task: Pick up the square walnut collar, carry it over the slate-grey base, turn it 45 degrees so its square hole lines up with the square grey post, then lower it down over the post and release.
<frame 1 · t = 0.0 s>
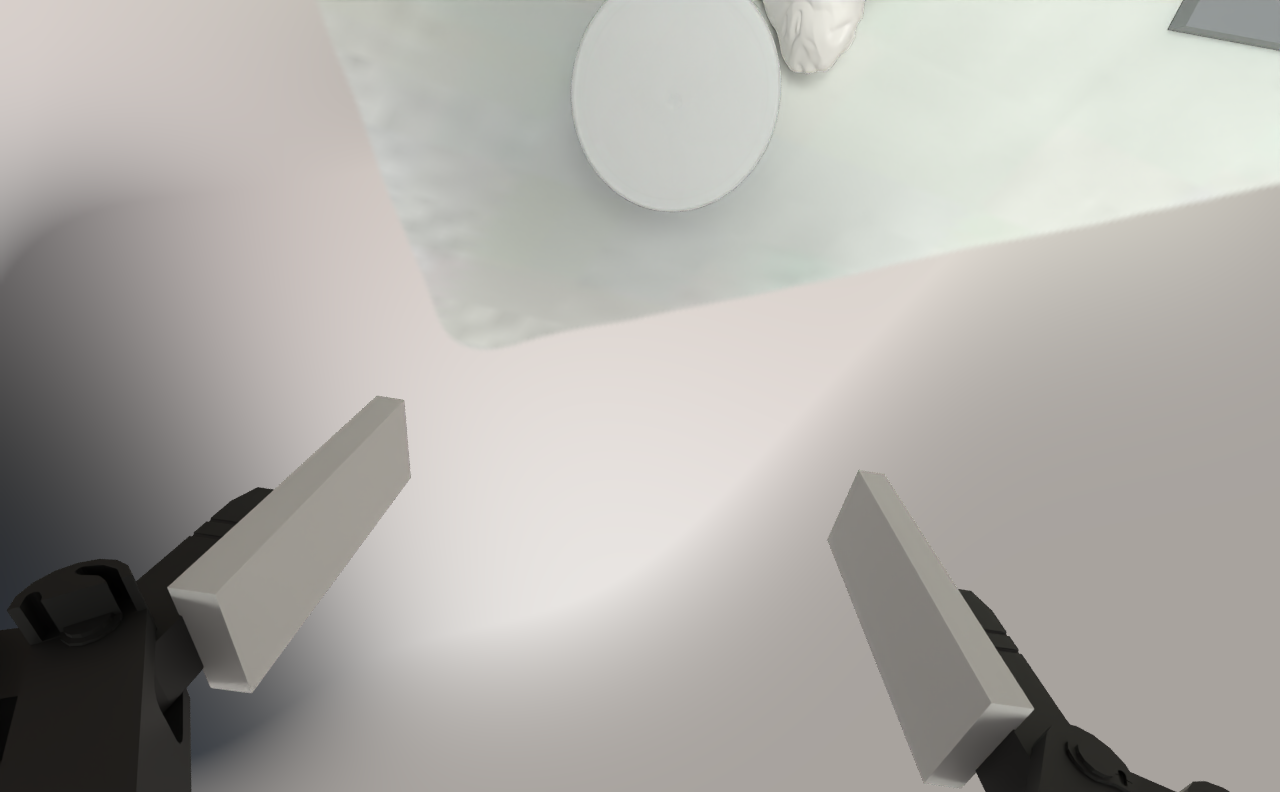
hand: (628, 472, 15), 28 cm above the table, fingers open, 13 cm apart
supplement tub: (670, 110, 35), on the table
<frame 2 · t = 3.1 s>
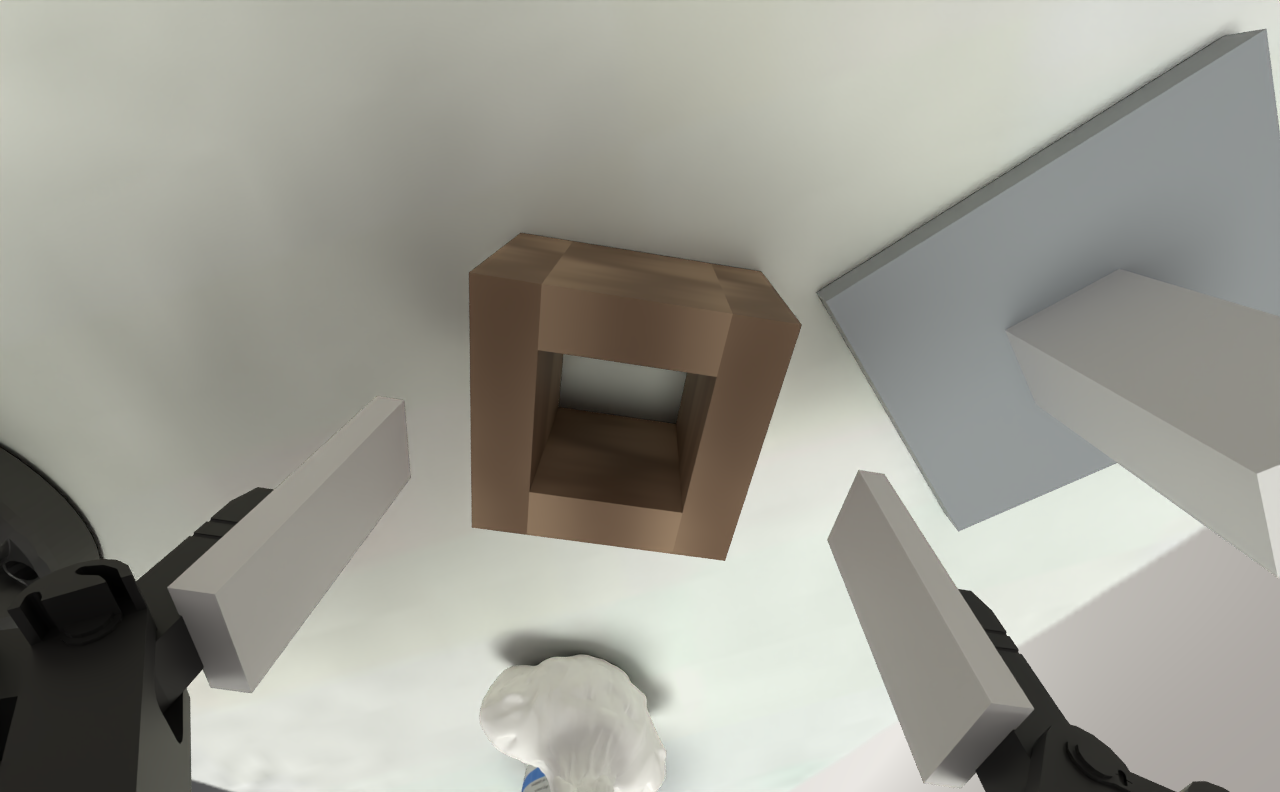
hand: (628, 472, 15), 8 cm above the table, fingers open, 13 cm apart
supplement tub: (593, 763, 37), on the table
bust: (590, 668, 32), on the table
post block: (1052, 330, 20), on the table
collar: (625, 362, 21), on the table
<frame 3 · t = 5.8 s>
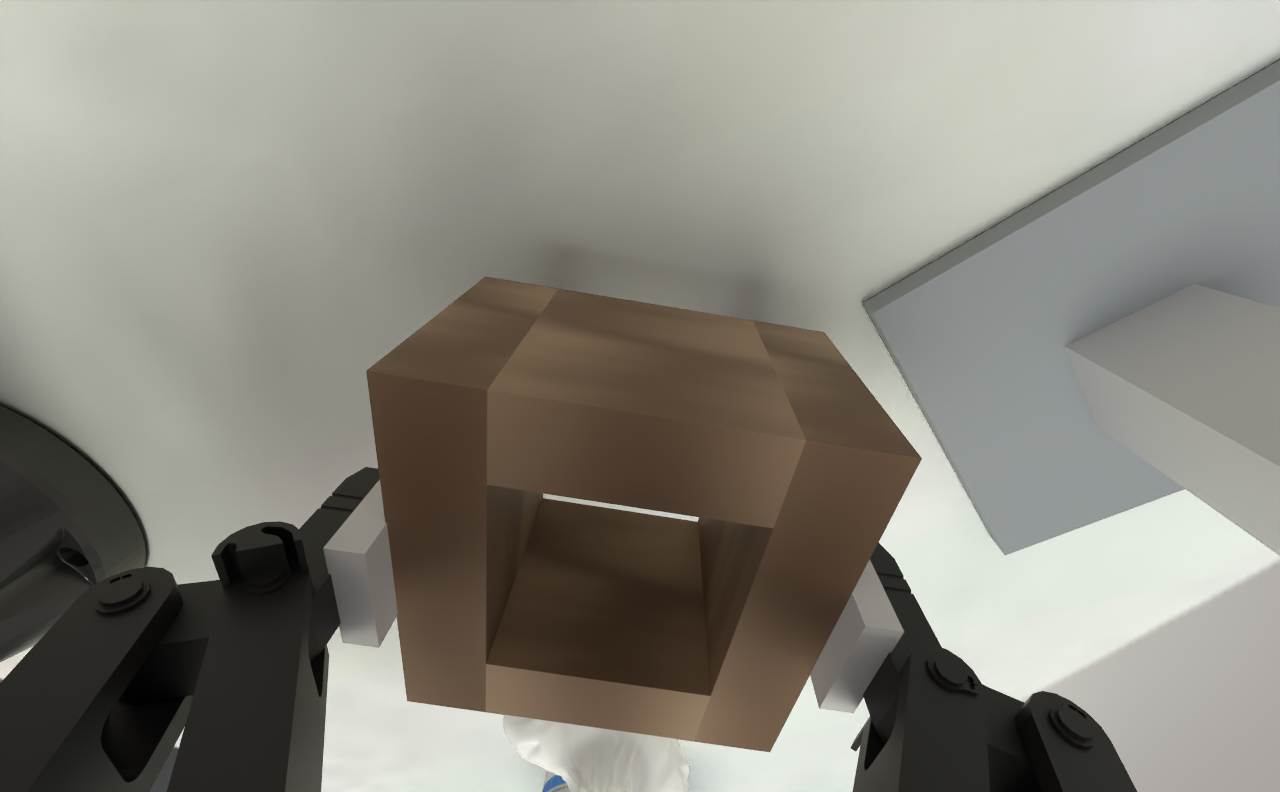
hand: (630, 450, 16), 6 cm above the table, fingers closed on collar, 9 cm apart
supplement tub: (613, 772, 37), on the table
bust: (613, 677, 32), on the table
post block: (1115, 347, 19), on the table
collar: (631, 445, 16), point 6 cm above the table, touching gripper
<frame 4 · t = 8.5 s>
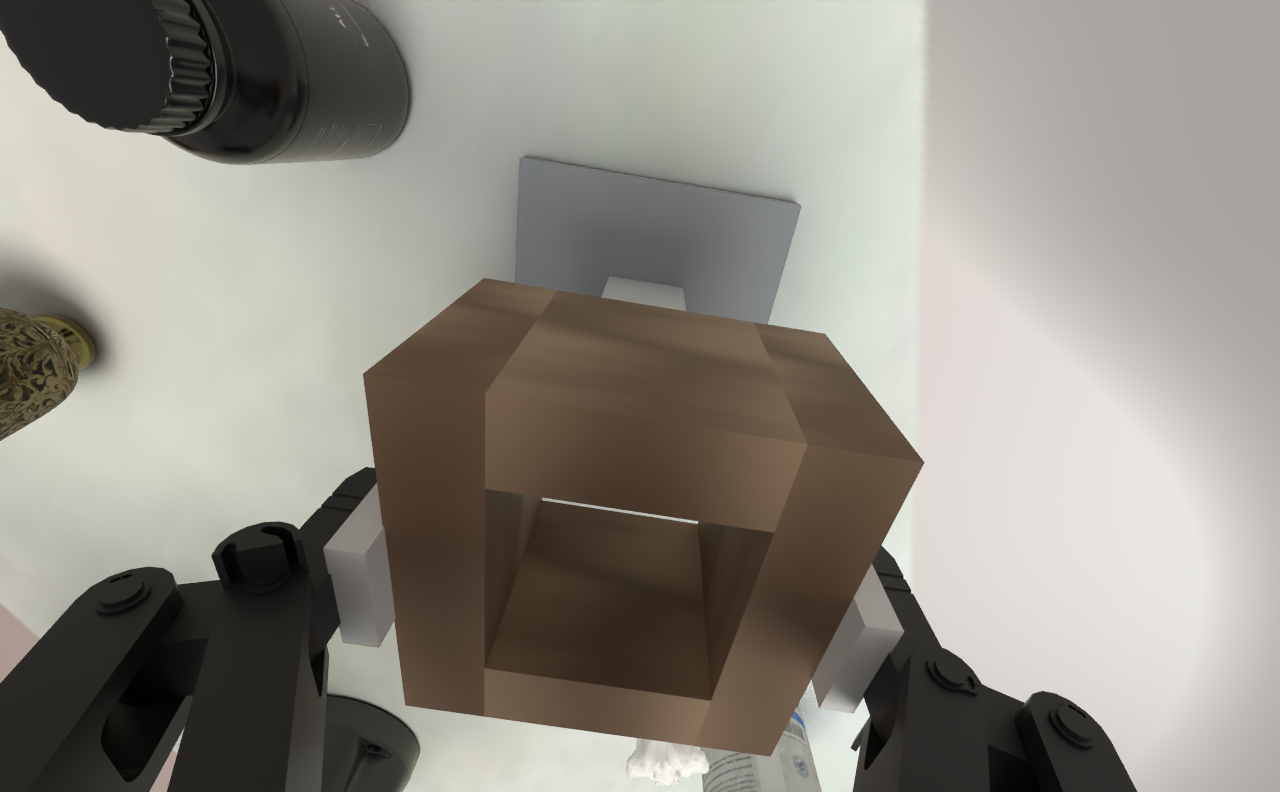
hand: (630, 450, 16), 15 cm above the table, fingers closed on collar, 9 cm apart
supplement tub: (749, 711, 47), on the table
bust: (668, 651, 43), on the table
supplement bottle: (343, 79, 24), on the table
post block: (641, 310, 29), on the table
cup: (74, 337, 31), on the table
collar: (631, 447, 16), point 14 cm above the table, touching gripper
when the fingers open (2 cm above the table, at t = 11.6 s): collar stays where it is, resting on post block.
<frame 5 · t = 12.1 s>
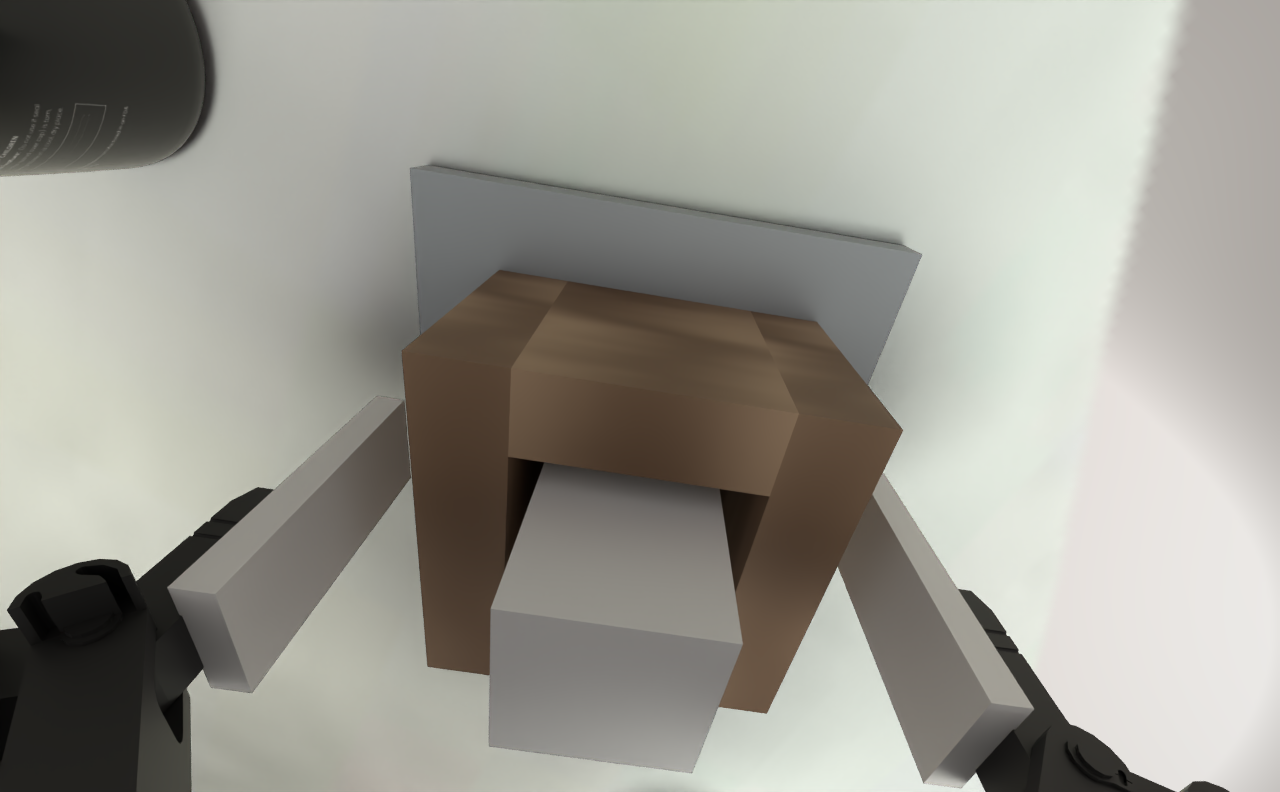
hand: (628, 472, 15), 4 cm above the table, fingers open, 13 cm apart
supplement bottle: (90, 25, 13), on the table
post block: (634, 411, 18), on the table
collar: (635, 430, 17), point 1 cm above the table, touching post block
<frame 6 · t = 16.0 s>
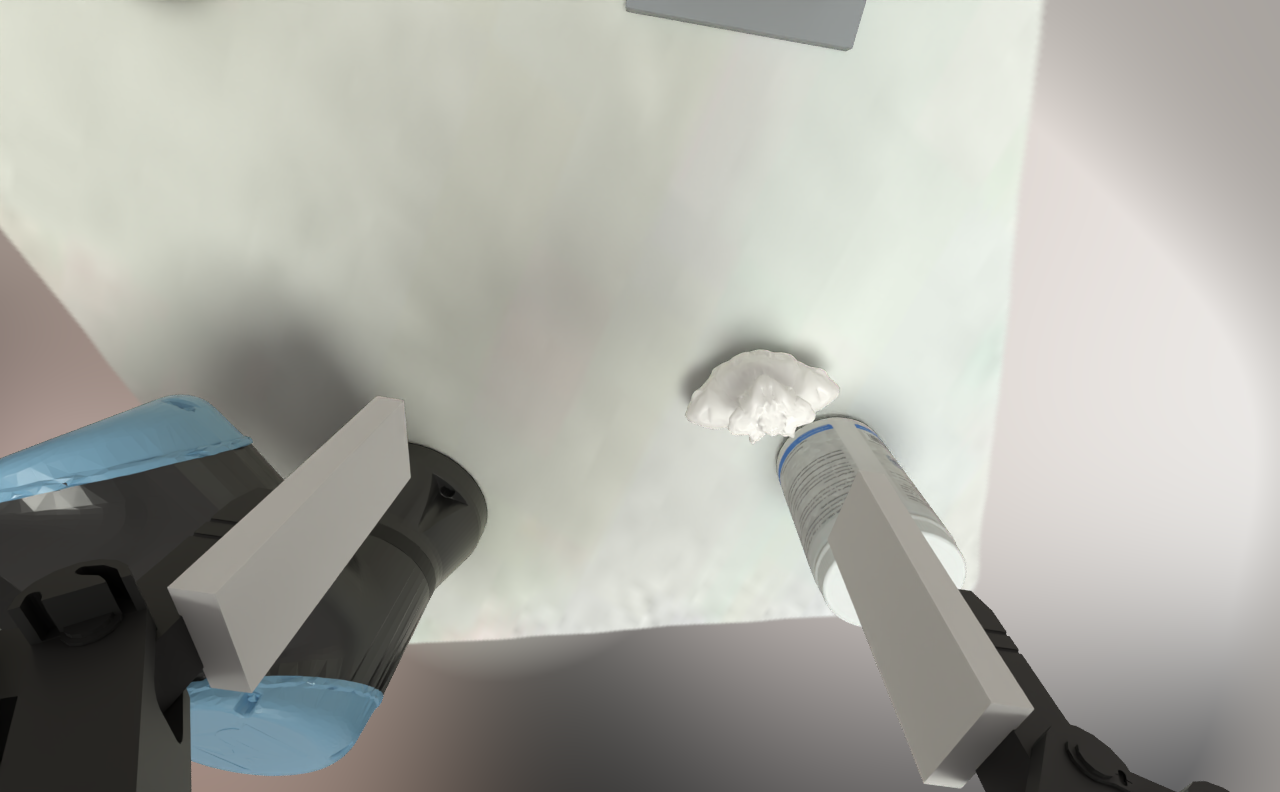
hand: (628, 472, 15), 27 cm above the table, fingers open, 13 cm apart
supplement tub: (827, 455, 46), on the table
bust: (751, 373, 42), on the table
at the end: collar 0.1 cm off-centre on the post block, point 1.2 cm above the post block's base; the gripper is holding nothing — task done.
